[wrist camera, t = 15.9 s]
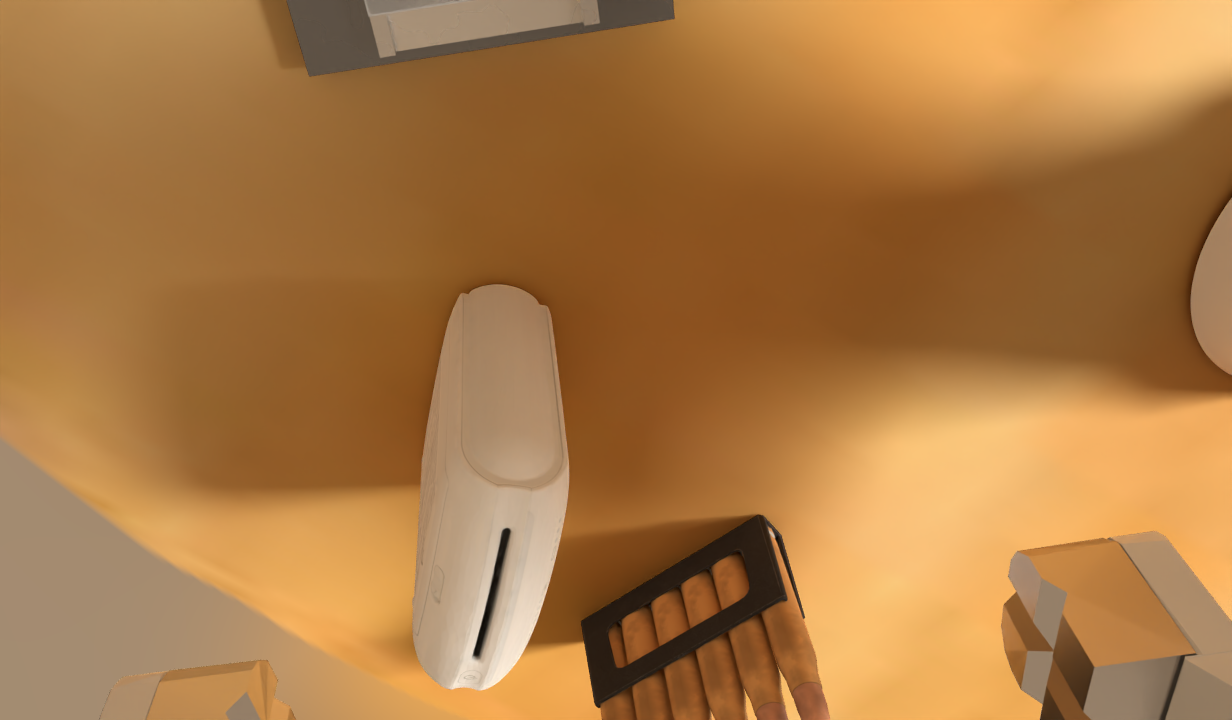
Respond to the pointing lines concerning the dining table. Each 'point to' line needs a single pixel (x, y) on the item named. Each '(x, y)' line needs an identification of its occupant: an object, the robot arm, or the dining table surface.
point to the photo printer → (489, 488)
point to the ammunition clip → (708, 638)
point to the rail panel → (449, 27)
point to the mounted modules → (403, 5)
